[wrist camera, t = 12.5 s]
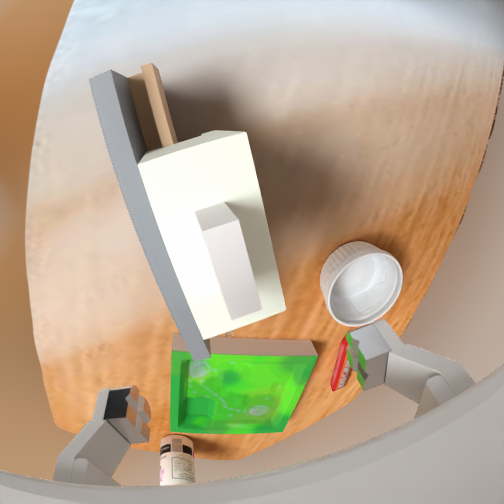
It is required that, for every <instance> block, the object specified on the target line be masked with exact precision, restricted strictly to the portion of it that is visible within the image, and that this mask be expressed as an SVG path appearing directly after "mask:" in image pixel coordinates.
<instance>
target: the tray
mask: <svg viewBox="0 0 504 504" xmlns="http://www.w3.org/2000/svg"><path fill="white" fill-rule="evenodd" d="M210 348H211V358H208V359H204V360H200V361H195V362H194V360H193V358H192V356H191V354H190V352H189V350H188V348H187V346H186V344H185V342H184V340H183V338H182V336H181V334H179V333H173V340H172V357H171V398H170V432H184V433H206V434H252V433H274V432H283V430H284V428H285V426H286V424H287V422H288V420H289V418H290V416H291V414H292V412H293V410H294V408H295V406H296V404H297V402H298V400H299V398H300V396H301V393H302V391H303V389H304V387H305V385H306V383H307V380H308V378H309V376H310V374H311V371H312V369H313V367H314V365H315V362H316V360H317V358H318V354H317V352H316V350H315V348H314V346H313V344H312V341H311V340H280V339H252V338H232V337H216V336H214V337H211V338H210Z"/></svg>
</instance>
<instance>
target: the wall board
mask: <svg viewBox="0 0 504 504" xmlns="http://www.w3.org/2000/svg"><path fill="white" fill-rule="evenodd" d="M141 69H142V73H140V74H137V75H134V76H132V77H129V78H127V77H125V76H123V75H121V74H119V73H116V72H114V71H112V70H109V71H107V72H104V73H102V74H100V75H97V76H95V77H93V78H90V79H89V82H90V86H91V90H92V94H93V98H94V102H95V106H96V110H97V114H98V117H99V121H100V125H101V128H102V132H103V135H104V139H105V142H106V145H107V149H108V152H109V155H110V158H111V162H112V165H113V168H114V171H115V174H116V177H117V180H118V183H119V186H120V189H121V192H122V195H123V198H124V200H125V203H126V206H127V209H128V212H129V214H130V217H131V220H132V222H133V225H134V228H135V230H136V233H137V235H138V238H139V241H140V243H141V246H142V248H143V251H144V253H145V256H146V258H147V261H148V263H149V265H150V268H151V270H152V273H153V275H154V277H155V280H156V282H157V284H158V286H159V289H160V291H161V293H162V296H163V298H164V300H165V302H166V304H167V307H168V309H169V311H170V313H171V315H172V317H173V320H174V322H175V324H176V326H177V328H178V330H179V332H180V334H181V336H182V338H183V340H184V342H185V344H186V346H187V348H188V350H189V352H190V354H191V356H192V358H193V360H194V362H195V361H200V360H204V359H208V358H211V348H210V338H208V339H205V340H203V338H202V335H201V333H200V331H199V328H198V326H197V324H196V322H195V319H194V317H193V314H192V312H191V310H190V307H189V305H188V303H187V300H186V298H185V295H184V293H183V290H182V288H181V285H180V283H179V280H178V278H177V275H176V273H175V270H174V268H173V265H172V263H171V260H170V257H169V255H168V252H167V249H166V247H165V244H164V241H163V239H162V236H161V233H160V230H159V228H158V225H157V222H156V219H155V216H154V213H153V211H152V208H151V205H150V202H149V199H148V196H147V193H146V190H145V187H144V184H143V181H142V178H141V175H140V171H139V168H138V163H139V162H140V160H141V159H142V158H143V156H144V155H145V153H146V152H147V151H149V150H152V149H155V148H158V147H161V148H163V147H166V146H169V145H172V144H176V143H178V141H177V137H176V134H175V130H174V126H173V123H172V119H171V115H170V112H169V108H168V104H167V100H166V97H165V93H164V89H163V85H162V81H161V77H160V73H159V70H158V69H157V68H156V67H155V66H154V65H153V64H152V63H150V64H147V65H144V66H141ZM233 334H234V330H231V331H228V332H226V333H225V335H226V336H229V335H233Z"/></svg>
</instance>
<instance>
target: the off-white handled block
mask: <svg viewBox="0 0 504 504" xmlns="http://www.w3.org/2000/svg"><path fill="white" fill-rule="evenodd" d="M201 135H202V136H199V137H195V138H192V139H189V140H185V141H182V142H179V143H176V144H172V145H169V146H166V147H163V148H161V147H158V148H155V149H152V150H149V151H147V152H146V153H145V155H144V156H143V158H142V159H141V160H140V162H139V163H138V168H139V171H140V175H141V178H142V181H143V184H144V187H145V190H146V193H147V196H148V199H149V202H150V205H151V208H152V211H153V213H154V216H155V219H156V222H157V225H158V228H159V230H160V233H161V236H162V239H163V241H164V244H165V247H166V249H167V252H168V255H169V257H170V260H171V263H172V265H173V268H174V270H175V273H176V275H177V278H178V280H179V283H180V285H181V288H182V290H183V293H184V295H185V298H186V300H187V303H188V305H189V307H190V310H191V312H192V314H193V317H194V319H195V322H196V324H197V326H198V328H199V331H200V333H201V335H202V338H203V340H205V339H208V338H211V337H214V336H217V335H220V334H223V333H226V332H228V331H231V330H234V329H237V328H240V327H242V326H245V325H248V324H251V323H253V322H256V321H259V320H262V319H264V318H267V317H270V316H272V315H275V314H278V313H280V312H283V311H285V310H286V306H285V302H284V297H283V292H282V287H281V283H280V278H279V273H278V269H277V264H276V260H275V255H274V250H273V246H272V241H271V237H270V232H269V228H268V223H267V219H266V214H265V210H264V206H263V201H262V197H261V192H260V188H259V184H258V179H257V175H256V171H255V167H254V162H253V158H252V154H251V150H250V145H249V141H248V137H247V133H246V132H240V131H218V130H214V131H211V132H207V133H203V134H201Z"/></svg>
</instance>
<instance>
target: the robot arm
mask: <svg viewBox="0 0 504 504" xmlns="http://www.w3.org/2000/svg"><path fill="white" fill-rule="evenodd" d="M346 340H347V342H348V344H349V345H348V346H347V348H346V349H347V357H348V361H349V363H350V366H351V368H352V370H353V371H356V372H357V379H358V381H359V383H360V385H361V386H362V388H363V390H364V391H365V390H368V389H371V388H374V387H376V386H379V385H381V384H384V383H385V385H386V386H388V387H390V388H392V389H394V390H395V391H397V392H399V393H400V394H402V395H404V396H406V397H407V398H409V399H411V400H413V401H414V402H416V403H418V404H419V406H418V409H417V412H416V415H415V417H414V419H413V420H411V421H409V422H407V423H405V424H403V425H401V426H399V427H396V428H394V429H392V430H390V431H388V432H385V433H383V434H381V435H378V436H376V437H374V438H371V439H369V440H366V441H364V442H361V443H358V444H356V445H353V446H351V447H348V448H345V449H342V450H339V451H337V452H334V453H331V454H328V455H324V456H321V457H318V458H315V459H312V460H308V461H305V462H301V463H298V464H294V465H290V466H286V467H282V468H278V469H274V470H270V471H265V472H261V473H256V474H251V475H246V476H240V477H235V478H229V479H222V480H215V481H207V482H199V483H189V484H177V485H161V486H121V485H120V484H119V483H118V482H116V481H115V480H114V479H112V478H111V477H112V475H113V473H114V472H115V470H116V469H117V467H118V465H119V464H120V462H121V460H122V459H123V457H124V456H125V454H126V452H127V450H128V449H129V447H130V446H131V444H135V443H145V442H149V436H150V428H149V427H148V425H147V423H148V422H149V421H150V419H151V411H150V406H149V404H148V402H147V400H146V399H145V398H144V397H142V396H140V395H139V390H138V388H137V387H136V386H134V385H132V386H123V387H114V388H106V389H101V390H100V391H99V393H98V397H97V401H96V405H95V410H94V414H93V419H92V421H89V422H88V423H87V424H86V425H85V426H84V427H83V428H82V430H81V431H80V432H79V433H78V434H77V435H76V436H75V438H74V439H73V440H72V441H71V442H70V443H69V444H68V445H67V447H66V448H65V449H64V450H63V451H62V452H61V454H60V455H59V456H58V458H57V463H56V468H55V473H54V478H53V480H45V479H40V478H35V477H29V476H24V475H20V474H15V473H10V472H7V471H3V470H0V504H504V364H503V365H502V366H500V367H499V368H498V369H497V370H495V371H494V372H492V373H491V374H489V375H488V376H487V377H485V378H483V379H482V380H481V381H479V382H477V383H475V382H474V380H473V379H472V378H471V377H470V375H469V374H468V373H467V372H466V370H465V369H464V368H463V367H462V366H461V364H460V363H459V362H457V361H454V360H452V359H449V358H446V357H443V356H440V355H437V354H435V353H432V352H430V351H427V350H424V349H421V348H419V347H416V346H413V345H410V344H406V345H405V344H404V343H403V342H402V341H401V339H400V338H399V337H398V335H397V334H396V333H395V332H394V330H393V329H392V328H391V326H390V325H389V324H388V323H387V321H386V320H385V319H380V320H378V321H375V322H373V323H371V324H367V325H364V326H362V327H359V328H356V329H354V330H351V331H348V332H347V333H346Z"/></svg>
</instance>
